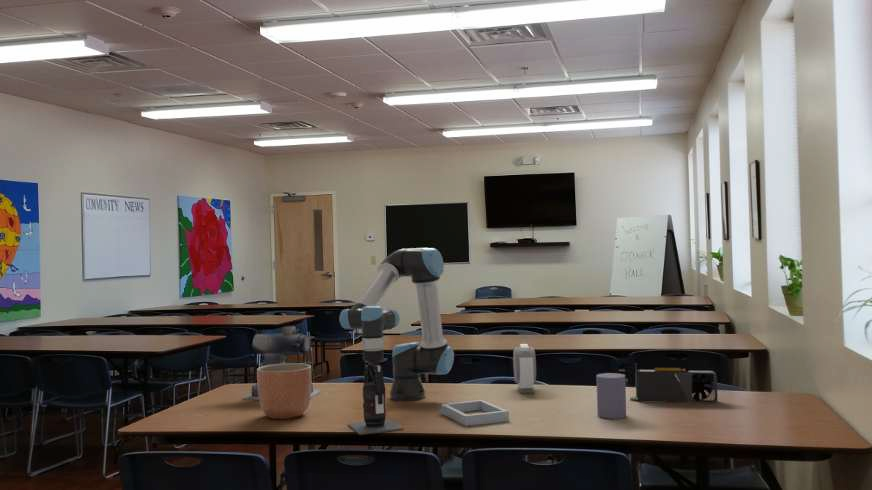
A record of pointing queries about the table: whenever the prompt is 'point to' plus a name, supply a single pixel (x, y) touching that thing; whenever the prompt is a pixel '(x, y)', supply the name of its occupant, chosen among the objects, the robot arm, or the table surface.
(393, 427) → the mat
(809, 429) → the table surface
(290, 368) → the planter
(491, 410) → the bin
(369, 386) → the camera lens
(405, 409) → the table surface
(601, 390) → the container
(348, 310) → the robot arm
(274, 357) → the grinder
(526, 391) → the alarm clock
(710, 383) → the graphics card
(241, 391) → the table surface
